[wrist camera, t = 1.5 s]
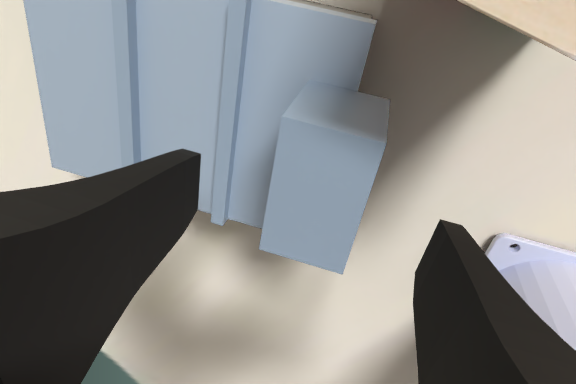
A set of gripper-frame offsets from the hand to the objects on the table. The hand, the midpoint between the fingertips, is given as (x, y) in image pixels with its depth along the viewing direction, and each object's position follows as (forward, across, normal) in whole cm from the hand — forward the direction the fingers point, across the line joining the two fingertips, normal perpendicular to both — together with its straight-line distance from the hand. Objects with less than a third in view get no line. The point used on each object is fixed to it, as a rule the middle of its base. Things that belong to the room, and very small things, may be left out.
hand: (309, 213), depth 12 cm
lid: (+6, +6, 0) cm, 9 cm away
